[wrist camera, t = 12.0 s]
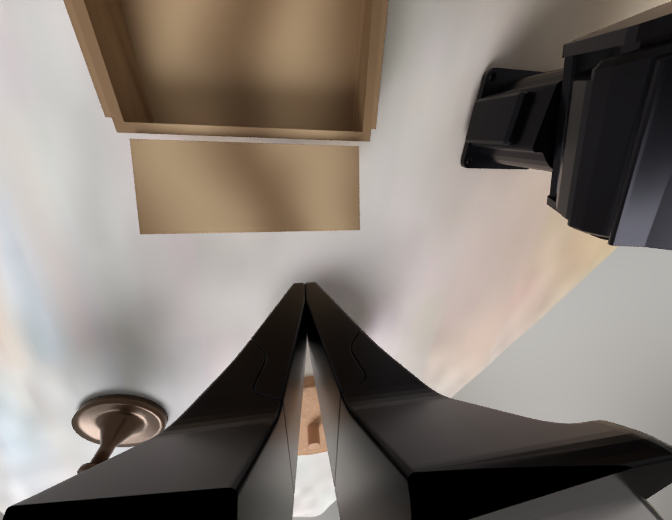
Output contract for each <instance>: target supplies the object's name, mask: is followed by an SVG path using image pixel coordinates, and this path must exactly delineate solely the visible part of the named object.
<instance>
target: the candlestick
mask: <svg viewBox="0 0 672 520" xmlns="http://www.w3.org/2000/svg"><path fill="white" fill-rule="evenodd" d="M167 421H168V416H167V414H166V412H165V411H164V409H163V408H162V407H160V406H159V405H158V404H156V403H154V402H152V401H150V400H148V399H145V398H142V397H138V396H132V395H122V394H114V395H105V396H100V397H96V398H93V399H91V400H89V401H87V402H86V403H84V404H83V405H82V406H81V407H80V409H79V410H78V411H77V412H76V414H75V415H74V417H73V418H72V427H73V429H74V430H75V432H76V433H77V434H79V435H80V436H81V437H83V438H85V439H86V440H88V441H91V442H94V443H97V444H100V445H101V446H100V447H99V449H98V451H97V452H96V454H95V455H94V457H93V459H92V460H91V462H90V463H86V464H83V465H82V466H81V467H80V468H79V470H78V471H77V473H78V474H79V473H81V472H83V471H86V470H88V469H90V468H92V467H94V466H96V465H98V464H100V463H102V462H104V461H106V460H108V459H109V457H110V456H111V454H112V452H113V450H114V449H115V447H132V446H137V445H139V444H141V443H143V442H145V441H147V440H149V439H151V438H153V437H155V436H156V435H158V434H159V433H161V432H162V431H163V430H164V429H165V426H166V424H167Z"/></svg>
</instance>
